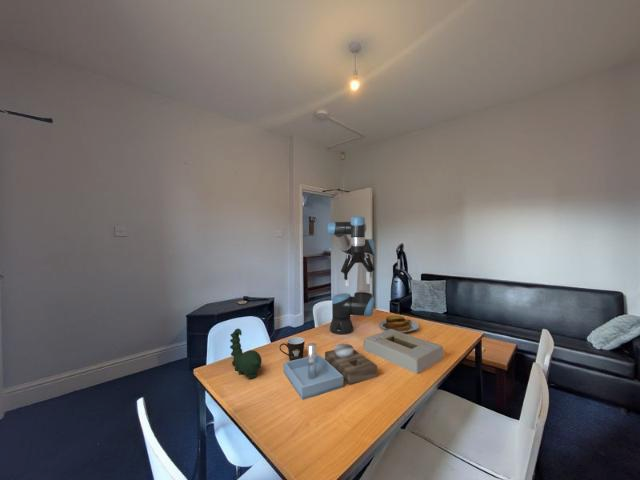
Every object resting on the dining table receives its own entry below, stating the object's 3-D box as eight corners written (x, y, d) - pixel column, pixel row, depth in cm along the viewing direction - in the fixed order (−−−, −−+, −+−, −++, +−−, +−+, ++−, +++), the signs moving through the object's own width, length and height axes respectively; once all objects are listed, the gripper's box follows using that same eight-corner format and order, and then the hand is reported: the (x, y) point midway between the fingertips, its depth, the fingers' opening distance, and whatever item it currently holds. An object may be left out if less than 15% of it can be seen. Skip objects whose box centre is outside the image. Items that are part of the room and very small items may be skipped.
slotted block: (363, 351, 140) (417, 375, 114) (363, 337, 140) (417, 358, 114) (390, 341, 154) (443, 360, 129) (390, 327, 154) (443, 344, 129)
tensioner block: (325, 362, 127) (324, 345, 127) (349, 356, 133) (349, 340, 133) (349, 385, 107) (349, 365, 107) (377, 376, 113) (376, 358, 113)
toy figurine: (225, 369, 124) (249, 387, 105) (223, 329, 125) (246, 339, 106) (244, 363, 130) (269, 379, 111) (242, 324, 131) (267, 333, 112)
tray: (283, 372, 117) (283, 362, 117) (319, 363, 125) (319, 354, 125) (302, 399, 98) (302, 387, 98) (343, 387, 106) (343, 376, 106)
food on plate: (412, 338, 155) (412, 327, 155) (373, 330, 170) (373, 320, 170) (423, 326, 176) (423, 316, 176) (388, 319, 190) (388, 310, 190)
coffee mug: (307, 357, 131) (307, 338, 131) (300, 366, 123) (300, 345, 123) (286, 354, 135) (286, 335, 135) (278, 362, 127) (278, 342, 127)
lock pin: (306, 376, 112) (306, 343, 112) (313, 374, 114) (313, 342, 113) (309, 380, 109) (309, 347, 109) (317, 378, 111) (317, 345, 110)
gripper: (341, 246, 132) (341, 288, 132) (380, 245, 143) (381, 283, 143) (334, 245, 138) (334, 285, 139) (372, 244, 149) (372, 281, 150)
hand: (358, 284), depth 141 cm, fingers open, 13 cm apart
